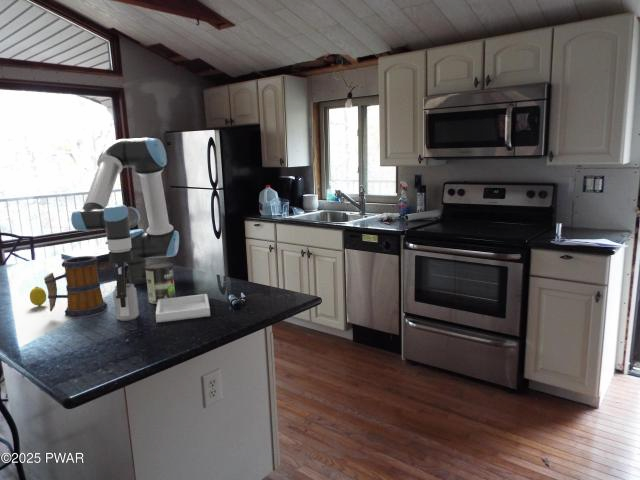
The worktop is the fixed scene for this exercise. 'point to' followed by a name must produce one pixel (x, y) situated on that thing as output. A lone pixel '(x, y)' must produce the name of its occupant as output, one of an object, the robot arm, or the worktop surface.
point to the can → (132, 303)
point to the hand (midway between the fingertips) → (127, 309)
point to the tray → (182, 308)
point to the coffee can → (160, 281)
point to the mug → (78, 288)
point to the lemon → (37, 296)
